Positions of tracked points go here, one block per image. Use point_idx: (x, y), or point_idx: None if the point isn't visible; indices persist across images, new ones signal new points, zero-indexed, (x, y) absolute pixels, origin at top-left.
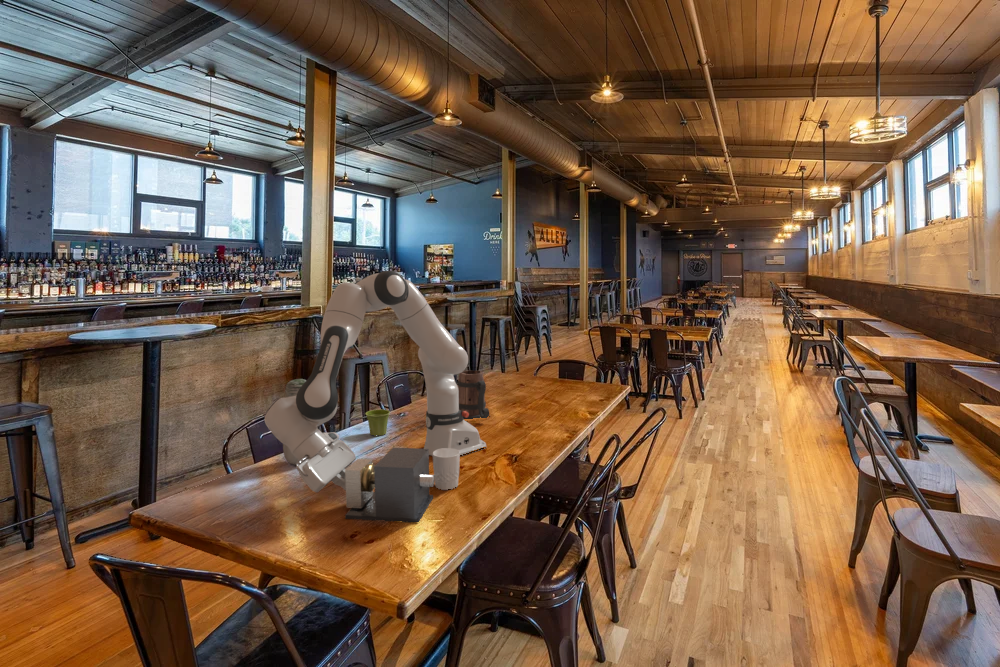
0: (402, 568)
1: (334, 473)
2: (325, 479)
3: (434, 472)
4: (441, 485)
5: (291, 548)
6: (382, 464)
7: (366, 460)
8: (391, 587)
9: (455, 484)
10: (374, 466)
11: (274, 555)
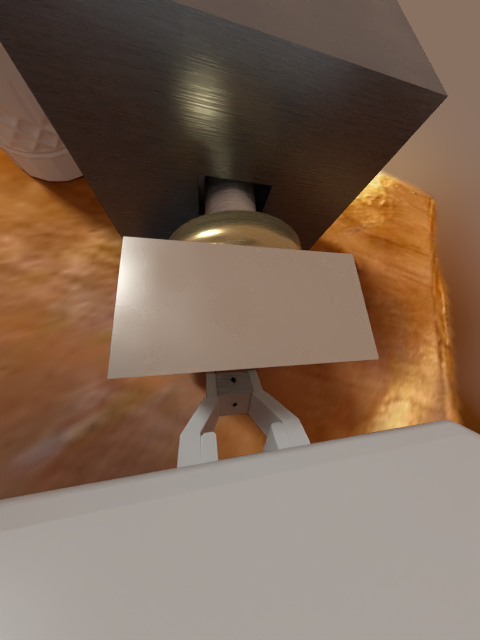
0: (388, 204)
1: (357, 452)
2: (458, 442)
3: (34, 121)
4: None
5: (422, 401)
6: (404, 56)
7: (153, 274)
8: (421, 210)
9: None
10: (446, 95)
11: (450, 419)
